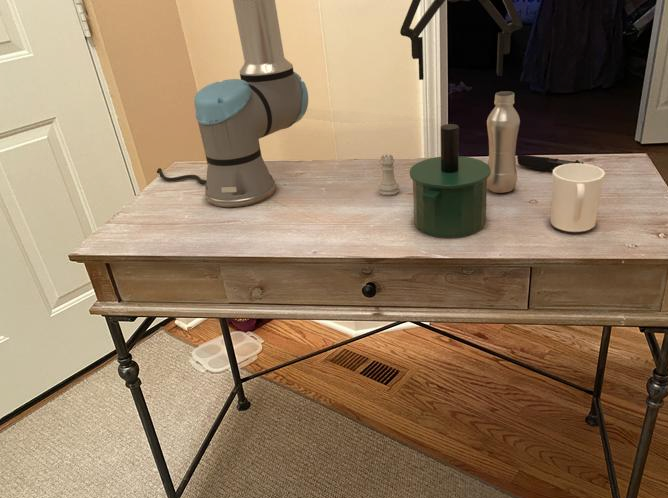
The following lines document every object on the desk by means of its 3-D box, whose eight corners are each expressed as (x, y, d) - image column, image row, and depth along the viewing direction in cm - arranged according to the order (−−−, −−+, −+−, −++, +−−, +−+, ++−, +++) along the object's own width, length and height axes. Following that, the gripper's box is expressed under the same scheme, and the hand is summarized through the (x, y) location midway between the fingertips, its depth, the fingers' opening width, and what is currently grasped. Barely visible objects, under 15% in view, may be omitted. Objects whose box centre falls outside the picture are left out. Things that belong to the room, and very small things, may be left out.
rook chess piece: (379, 188, 134) (377, 153, 130) (400, 188, 133) (398, 152, 129) (377, 196, 130) (375, 160, 126) (398, 196, 130) (396, 160, 125)
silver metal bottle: (523, 190, 128) (529, 93, 117) (498, 199, 125) (502, 100, 114) (502, 181, 133) (506, 87, 122) (478, 189, 130) (480, 94, 119)
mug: (546, 214, 118) (551, 163, 112) (594, 215, 116) (601, 163, 111) (549, 240, 109) (554, 186, 103) (601, 241, 107) (609, 186, 102)
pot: (396, 237, 114) (393, 187, 108) (437, 198, 127) (436, 152, 122) (464, 250, 108) (465, 197, 102) (500, 208, 122) (502, 159, 116)
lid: (395, 185, 110) (393, 135, 105) (429, 158, 121) (428, 111, 116) (473, 196, 104) (474, 144, 99) (501, 166, 115) (503, 118, 110)
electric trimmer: (520, 164, 142) (520, 150, 140) (587, 172, 134) (589, 158, 132) (514, 169, 139) (514, 156, 137) (582, 178, 132) (583, 164, 130)
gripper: (380, -59, 93) (388, 84, 105) (546, -70, 91) (535, 77, 103) (383, -61, 99) (390, 74, 111) (538, -72, 97) (529, 67, 109)
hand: (460, 76), depth 107 cm, fingers open, 13 cm apart
